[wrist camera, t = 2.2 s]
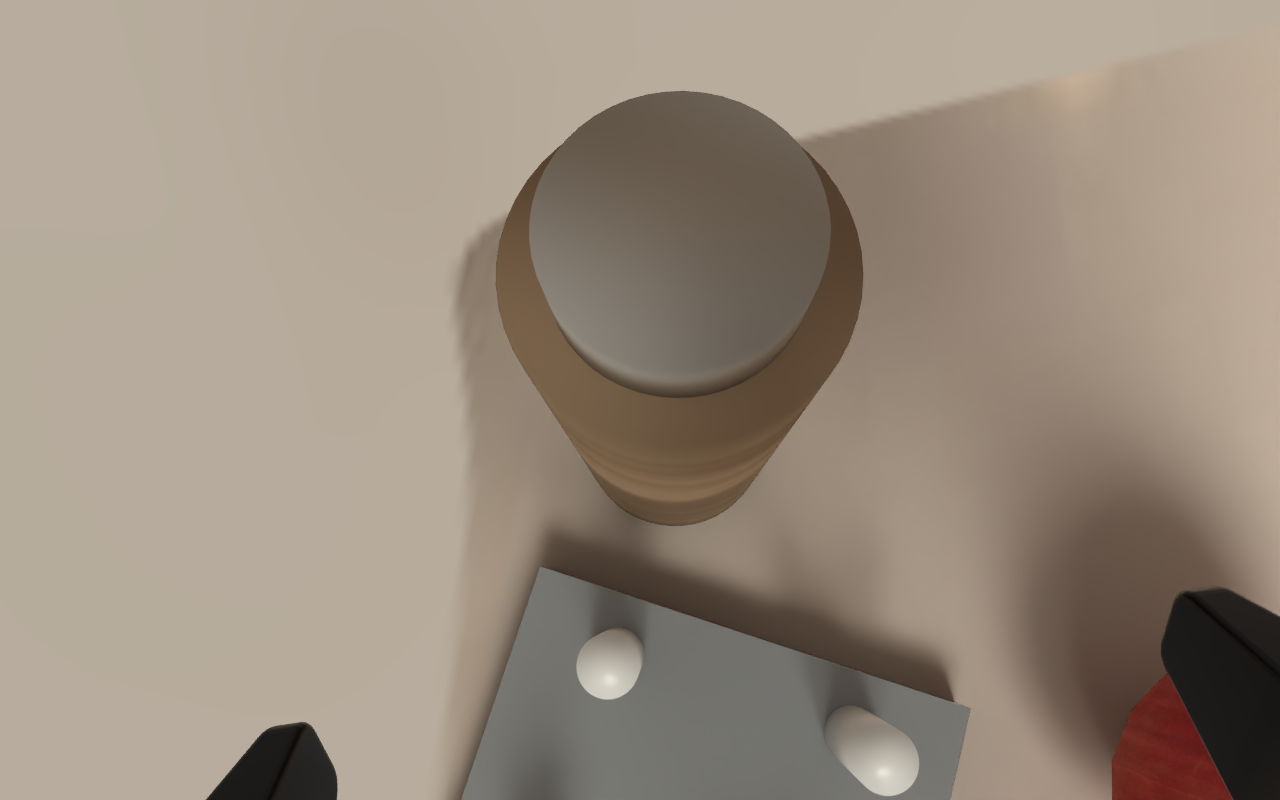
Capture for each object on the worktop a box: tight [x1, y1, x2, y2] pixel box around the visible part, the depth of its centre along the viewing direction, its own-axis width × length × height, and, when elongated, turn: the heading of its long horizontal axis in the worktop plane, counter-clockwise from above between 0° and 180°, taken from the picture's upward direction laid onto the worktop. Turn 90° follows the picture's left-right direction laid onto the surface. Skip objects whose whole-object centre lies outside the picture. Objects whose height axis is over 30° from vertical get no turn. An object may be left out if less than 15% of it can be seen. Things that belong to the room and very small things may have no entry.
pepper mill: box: [496, 91, 863, 526], centre depth 15 cm, size 4×4×12 cm
